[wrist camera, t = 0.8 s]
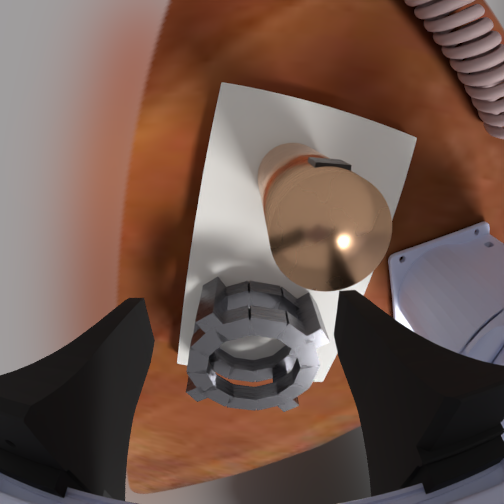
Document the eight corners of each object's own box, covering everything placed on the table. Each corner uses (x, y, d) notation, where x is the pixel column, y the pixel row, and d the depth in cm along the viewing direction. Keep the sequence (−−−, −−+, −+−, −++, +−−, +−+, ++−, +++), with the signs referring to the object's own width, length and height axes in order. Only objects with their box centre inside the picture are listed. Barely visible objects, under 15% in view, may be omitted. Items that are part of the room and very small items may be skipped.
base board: (222, 83, 16) (221, 82, 16) (409, 136, 18) (417, 137, 17) (178, 354, 24) (177, 363, 24) (320, 373, 26) (322, 381, 25)
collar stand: (203, 272, 20) (195, 307, 17) (322, 292, 21) (337, 329, 17) (190, 361, 23) (183, 400, 20) (290, 375, 24) (296, 413, 21)
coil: (340, -90, 8) (517, 157, 14) (393, -109, 7) (552, 123, 12) (327, -60, 12) (480, 141, 18) (373, -81, 11) (514, 112, 16)
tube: (323, 212, 19) (378, 291, 11) (256, 209, 19) (265, 291, 10) (329, 143, 17) (401, 175, 9) (258, 139, 17) (273, 164, 9)
